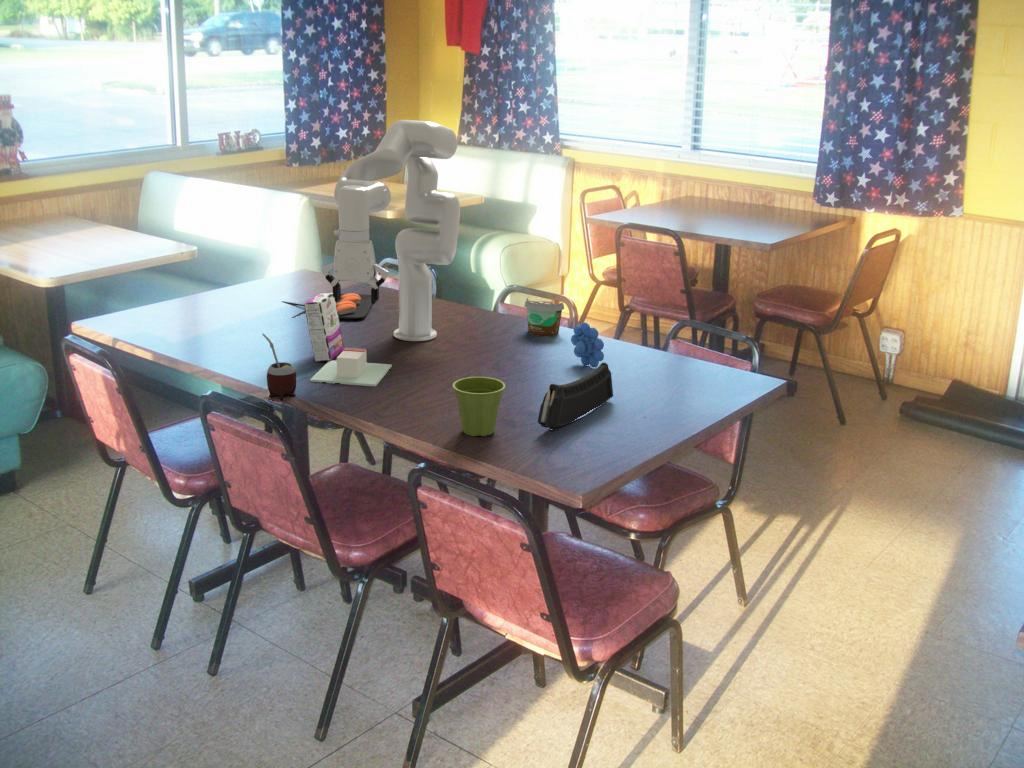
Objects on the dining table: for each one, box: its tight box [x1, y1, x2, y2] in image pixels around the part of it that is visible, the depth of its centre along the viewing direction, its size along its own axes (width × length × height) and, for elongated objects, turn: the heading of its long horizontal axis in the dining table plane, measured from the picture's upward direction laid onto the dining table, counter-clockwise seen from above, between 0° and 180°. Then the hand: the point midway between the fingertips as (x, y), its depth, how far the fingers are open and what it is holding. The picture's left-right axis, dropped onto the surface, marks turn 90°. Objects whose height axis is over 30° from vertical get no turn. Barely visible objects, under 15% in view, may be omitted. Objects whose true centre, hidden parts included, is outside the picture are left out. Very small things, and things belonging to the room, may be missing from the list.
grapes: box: [570, 321, 605, 368], centre depth 295 cm, size 12×7×12 cm, turn 44°
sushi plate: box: [281, 292, 373, 320], centre depth 346 cm, size 29×30×4 cm
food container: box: [523, 297, 565, 337], centre depth 324 cm, size 12×6×10 cm, turn 68°
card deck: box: [336, 347, 368, 378], centre depth 283 cm, size 6×8×5 cm, turn 172°
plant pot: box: [451, 376, 506, 437], centre depth 245 cm, size 12×12×11 cm
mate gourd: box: [261, 333, 297, 402], centre depth 263 cm, size 8×8×15 cm
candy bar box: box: [303, 292, 345, 362], centre depth 295 cm, size 11×5×16 cm, turn 169°
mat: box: [309, 359, 393, 387], centre depth 284 cm, size 17×17×1 cm
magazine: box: [537, 362, 614, 429], centre depth 258 cm, size 17×3×30 cm
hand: (356, 301), depth 279 cm, fingers open, 9 cm apart
